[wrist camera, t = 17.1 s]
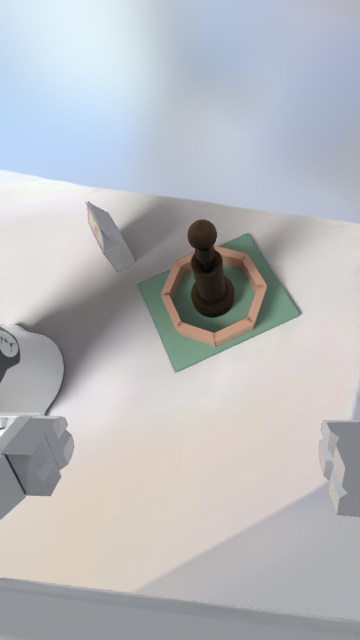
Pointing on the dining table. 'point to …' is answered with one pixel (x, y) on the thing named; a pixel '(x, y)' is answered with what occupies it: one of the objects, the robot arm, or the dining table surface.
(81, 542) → the dining table surface
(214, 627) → the robot arm
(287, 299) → the green mat
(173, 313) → the pink octagonal ring
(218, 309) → the brown wooden chess piece
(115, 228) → the tea bag
